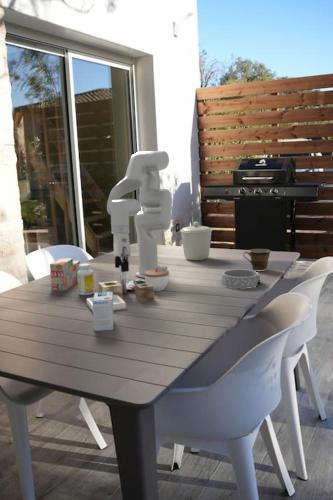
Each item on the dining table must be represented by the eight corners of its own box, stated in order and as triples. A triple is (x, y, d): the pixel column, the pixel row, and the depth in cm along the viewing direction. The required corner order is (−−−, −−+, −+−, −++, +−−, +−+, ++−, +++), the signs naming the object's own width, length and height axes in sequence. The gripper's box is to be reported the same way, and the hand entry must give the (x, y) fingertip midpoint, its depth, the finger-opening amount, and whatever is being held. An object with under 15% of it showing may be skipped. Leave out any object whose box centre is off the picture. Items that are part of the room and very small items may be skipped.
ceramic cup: (268, 268, 257) (268, 248, 255) (270, 272, 247) (270, 252, 246) (242, 268, 259) (242, 248, 257) (243, 272, 249) (243, 252, 247)
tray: (117, 300, 207) (117, 294, 207) (125, 308, 196) (125, 302, 195) (86, 304, 203) (86, 298, 203) (93, 313, 192) (93, 306, 191)
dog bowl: (264, 281, 233) (264, 269, 232) (253, 291, 216) (253, 278, 215) (228, 278, 240) (228, 267, 239) (215, 287, 223) (215, 276, 222)
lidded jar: (151, 293, 216) (150, 272, 215) (141, 288, 226) (140, 267, 224) (173, 289, 221) (173, 268, 219) (162, 284, 231) (161, 264, 229)
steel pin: (125, 291, 221) (124, 264, 219) (127, 293, 218) (126, 265, 216) (119, 292, 220) (118, 265, 218) (121, 293, 218) (120, 266, 215)
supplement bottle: (96, 292, 222) (95, 263, 219) (89, 296, 215) (88, 266, 213) (83, 291, 224) (81, 262, 222) (75, 295, 218) (73, 265, 215)
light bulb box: (95, 321, 182) (93, 292, 180) (114, 320, 183) (112, 291, 181) (93, 331, 172) (91, 300, 170) (113, 330, 172) (112, 299, 170)
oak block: (117, 294, 217) (116, 280, 216) (122, 299, 210) (121, 284, 209) (99, 296, 215) (98, 282, 214) (103, 301, 207) (102, 287, 206)
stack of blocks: (69, 279, 248) (67, 254, 246) (81, 279, 247) (80, 254, 244) (51, 290, 227) (49, 263, 225) (64, 290, 226) (62, 263, 224)
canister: (191, 254, 298) (191, 219, 294) (218, 257, 288) (218, 220, 284) (174, 260, 284) (173, 222, 280) (201, 263, 273) (201, 224, 269)
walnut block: (149, 296, 212) (148, 282, 211) (154, 300, 206) (153, 286, 205) (135, 298, 210) (135, 284, 209) (140, 302, 204) (139, 287, 203)
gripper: (135, 231, 207) (136, 272, 210) (123, 227, 223) (124, 265, 226) (117, 232, 205) (118, 273, 207) (106, 228, 221) (108, 266, 223)
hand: (121, 269), depth 217 cm, fingers open, 9 cm apart
